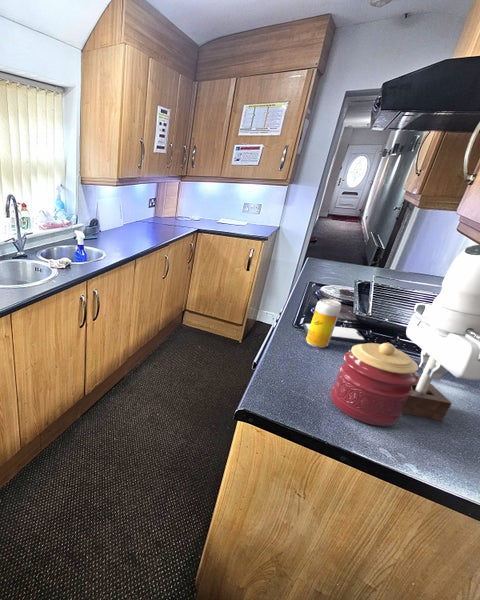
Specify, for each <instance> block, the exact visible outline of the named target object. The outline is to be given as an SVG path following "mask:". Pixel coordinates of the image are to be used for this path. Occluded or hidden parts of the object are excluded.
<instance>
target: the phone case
mask: <svg viewBox="0 0 480 600" xmlns="http://www.w3.org/2000/svg"><path fill="white" fill-rule="evenodd" d="M310 325H311V323H309V322H308V323H307V322H306V323H303V326H302V327H303V329H304V330H305V332H306V334H308V331H309V328H310ZM330 340H334V341H339V342H341V341H342V342H346V343H347V342H348V343H355V344H366V343H365V342H366V338H365V337H364V336H363V335H362V334H361V333H360V332H359V331H358V329H356V328H352V327H345V326H343V327H342V326H335V327H334V330H333V333H332V336H331V339H330Z"/></svg>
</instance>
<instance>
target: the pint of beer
mask: <svg viewBox="0 0 480 600" xmlns="http://www.w3.org/2000/svg"><path fill="white" fill-rule="evenodd" d="M341 310H342V303H341V302H339V301H338V300H335V299H331V298H320V299H319V301H317V302H316V306H315V309H314V313H313V316H312V319H311V322H310V324H311V325H310V328H309V331H308V334H307V333H306V334H307V335H306V338H305V341H306V343H307V344H308V345H310V346H312V347H315V348H320V349H321V348H322V349H323V348H326V347H329V344H330V341H331V340H332V339H331V336H332V333H333V330H334V327H336V323H337V321H338V319H339V316H340V313H341Z"/></svg>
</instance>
